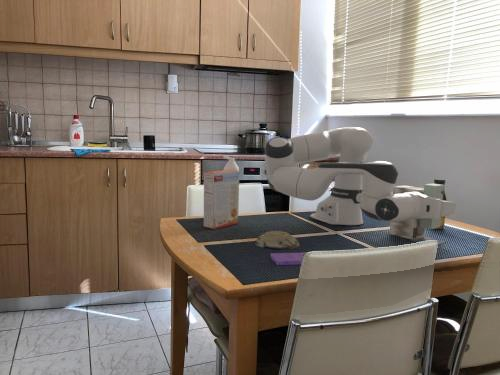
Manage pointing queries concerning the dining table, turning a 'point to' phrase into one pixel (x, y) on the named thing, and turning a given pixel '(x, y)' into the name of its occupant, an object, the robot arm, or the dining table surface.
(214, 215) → the cracker box
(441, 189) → the pale green block
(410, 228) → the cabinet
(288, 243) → the grey lumpy flat piece
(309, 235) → the dining table surface
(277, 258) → the sponges
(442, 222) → the sauce bottle
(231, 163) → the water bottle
